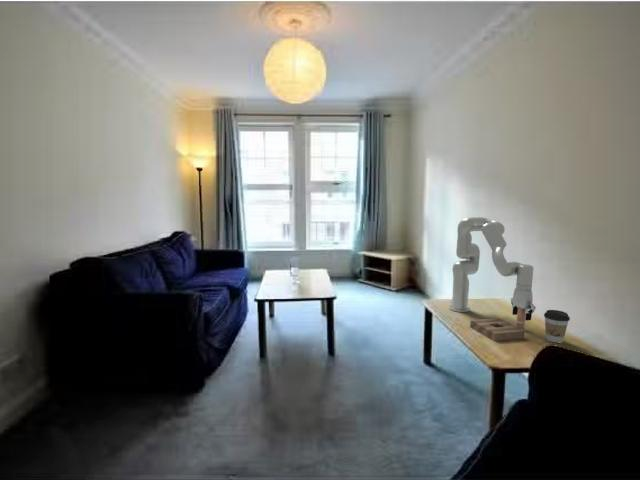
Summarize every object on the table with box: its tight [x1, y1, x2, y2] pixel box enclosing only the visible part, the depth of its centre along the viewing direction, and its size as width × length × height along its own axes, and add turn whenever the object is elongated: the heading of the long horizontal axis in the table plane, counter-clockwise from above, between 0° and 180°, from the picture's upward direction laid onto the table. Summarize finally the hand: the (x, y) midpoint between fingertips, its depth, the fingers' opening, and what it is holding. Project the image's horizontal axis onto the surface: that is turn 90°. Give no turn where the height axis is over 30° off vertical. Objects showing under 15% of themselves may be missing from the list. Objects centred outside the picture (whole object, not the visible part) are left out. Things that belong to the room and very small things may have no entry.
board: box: [469, 317, 526, 342], centre depth 206 cm, size 20×18×4 cm
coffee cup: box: [543, 309, 571, 343], centre depth 195 cm, size 11×11×15 cm
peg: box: [515, 307, 527, 331], centre depth 211 cm, size 4×4×14 cm
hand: (521, 317), depth 211 cm, fingers open, 9 cm apart
